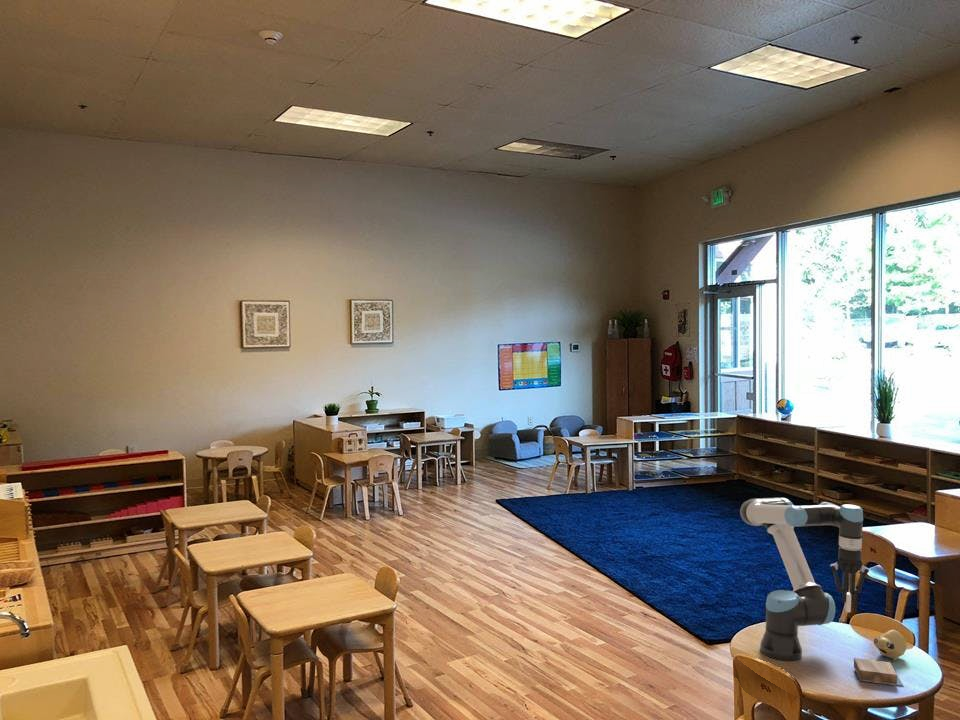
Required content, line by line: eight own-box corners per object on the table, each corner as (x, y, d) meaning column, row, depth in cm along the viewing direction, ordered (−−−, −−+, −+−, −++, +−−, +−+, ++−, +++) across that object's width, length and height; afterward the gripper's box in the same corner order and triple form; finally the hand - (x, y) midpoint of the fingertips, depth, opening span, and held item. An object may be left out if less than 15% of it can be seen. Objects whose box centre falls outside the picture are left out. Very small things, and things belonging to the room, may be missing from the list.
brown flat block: (859, 670, 263) (897, 674, 259) (854, 657, 272) (889, 662, 269) (859, 680, 263) (896, 685, 259) (853, 668, 272) (889, 672, 269)
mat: (863, 681, 263) (863, 680, 263) (856, 667, 274) (856, 666, 274) (903, 686, 260) (903, 685, 260) (895, 672, 270) (895, 671, 270)
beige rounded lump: (867, 656, 284) (868, 629, 283) (885, 649, 290) (886, 623, 289) (893, 666, 275) (894, 638, 275) (910, 659, 281) (911, 632, 281)
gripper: (832, 549, 265) (830, 612, 266) (872, 552, 261) (869, 617, 262) (828, 543, 272) (826, 604, 273) (867, 546, 268) (864, 609, 269)
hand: (847, 610), depth 268 cm, fingers closed
